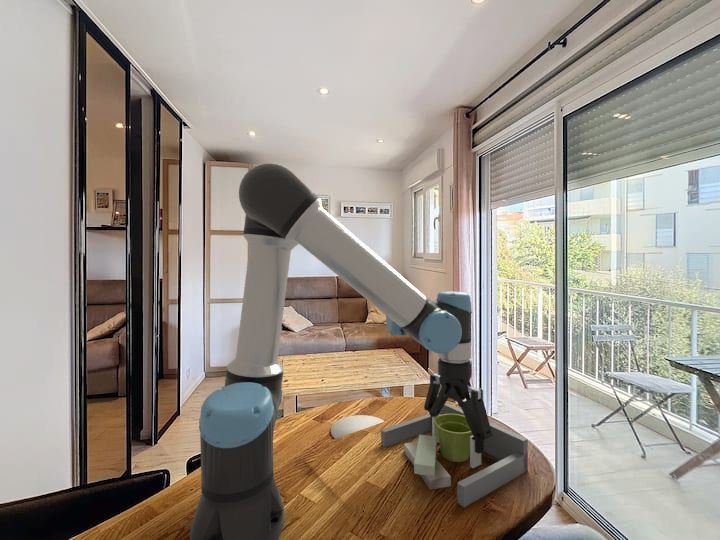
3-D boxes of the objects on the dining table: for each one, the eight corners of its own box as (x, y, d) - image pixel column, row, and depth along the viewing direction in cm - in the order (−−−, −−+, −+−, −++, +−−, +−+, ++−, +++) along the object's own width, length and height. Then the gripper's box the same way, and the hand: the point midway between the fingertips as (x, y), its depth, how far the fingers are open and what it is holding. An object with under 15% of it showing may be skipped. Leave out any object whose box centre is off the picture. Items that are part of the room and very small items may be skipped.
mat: (349, 452, 81) (349, 450, 81) (321, 426, 95) (321, 424, 95) (401, 434, 90) (401, 432, 90) (368, 412, 103) (368, 410, 103)
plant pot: (484, 460, 77) (484, 423, 77) (461, 477, 71) (461, 437, 71) (450, 444, 84) (450, 410, 84) (426, 458, 78) (426, 421, 78)
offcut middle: (430, 490, 65) (429, 480, 65) (404, 452, 79) (403, 443, 79) (451, 486, 66) (450, 476, 66) (421, 449, 80) (421, 441, 80)
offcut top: (414, 473, 67) (414, 463, 67) (419, 443, 79) (419, 434, 79) (434, 476, 66) (434, 466, 66) (436, 445, 78) (436, 436, 78)
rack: (464, 514, 60) (463, 470, 60) (381, 450, 82) (380, 417, 82) (527, 476, 71) (527, 439, 71) (439, 428, 93) (439, 399, 93)
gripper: (510, 368, 70) (510, 473, 70) (430, 346, 89) (431, 428, 89) (487, 375, 66) (487, 486, 66) (409, 350, 85) (409, 436, 85)
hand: (455, 453), depth 78 cm, fingers open, 11 cm apart
